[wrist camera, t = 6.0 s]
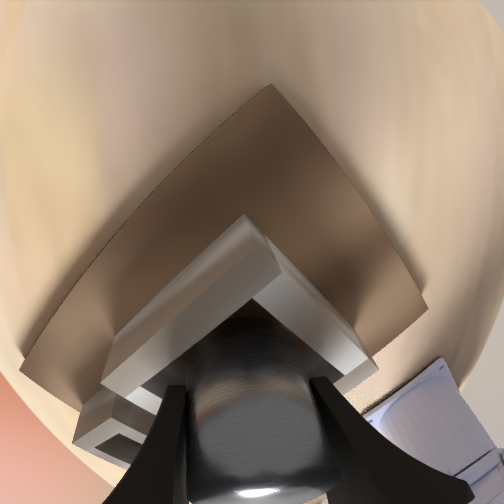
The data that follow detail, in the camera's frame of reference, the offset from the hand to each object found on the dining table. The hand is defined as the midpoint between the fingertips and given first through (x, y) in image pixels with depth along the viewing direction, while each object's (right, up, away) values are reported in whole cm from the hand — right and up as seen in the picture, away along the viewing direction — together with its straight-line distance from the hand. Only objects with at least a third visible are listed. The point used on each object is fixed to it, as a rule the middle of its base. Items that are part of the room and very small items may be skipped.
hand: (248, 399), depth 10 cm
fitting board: (-2, +1, +5) cm, 5 cm away
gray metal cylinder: (0, +1, +2) cm, 2 cm away
